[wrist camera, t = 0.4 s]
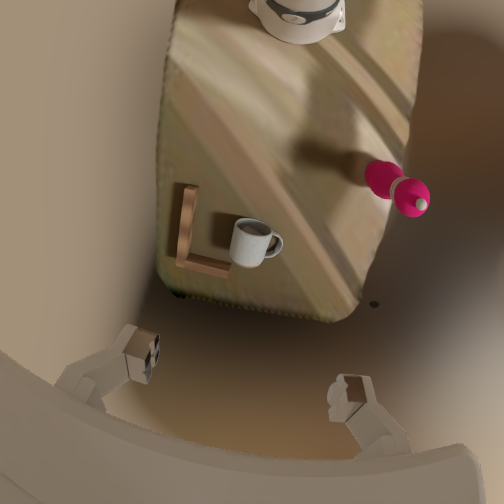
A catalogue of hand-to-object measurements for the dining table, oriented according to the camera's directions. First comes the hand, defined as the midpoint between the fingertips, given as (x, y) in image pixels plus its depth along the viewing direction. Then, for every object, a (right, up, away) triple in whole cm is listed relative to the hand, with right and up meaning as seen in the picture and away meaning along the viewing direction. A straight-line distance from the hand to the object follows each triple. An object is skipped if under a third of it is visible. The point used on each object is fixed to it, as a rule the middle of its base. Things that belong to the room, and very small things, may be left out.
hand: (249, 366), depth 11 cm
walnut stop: (-9, +10, +48) cm, 50 cm away
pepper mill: (+26, +21, +39) cm, 51 cm away
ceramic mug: (+1, +8, +48) cm, 49 cm away
